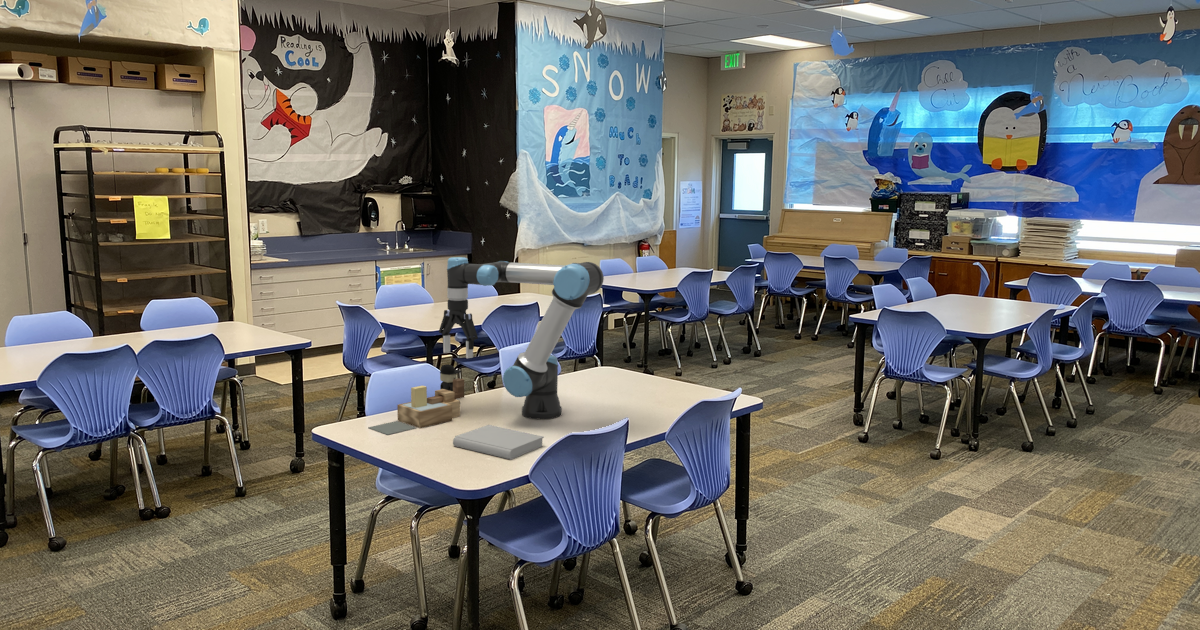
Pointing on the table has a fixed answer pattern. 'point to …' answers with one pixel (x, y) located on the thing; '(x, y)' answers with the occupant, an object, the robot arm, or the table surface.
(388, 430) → the mat
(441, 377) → the toy
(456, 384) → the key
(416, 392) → the lid
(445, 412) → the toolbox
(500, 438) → the book
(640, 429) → the table surface
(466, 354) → the robot arm
